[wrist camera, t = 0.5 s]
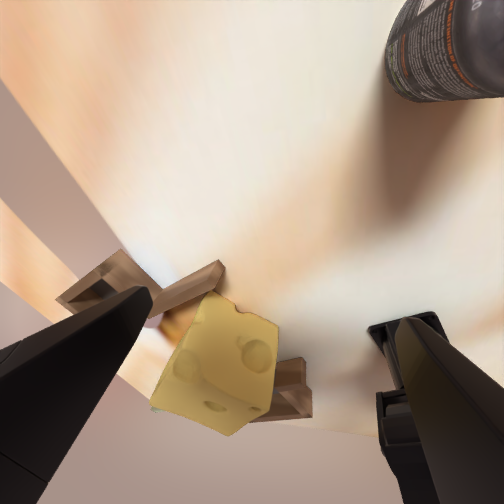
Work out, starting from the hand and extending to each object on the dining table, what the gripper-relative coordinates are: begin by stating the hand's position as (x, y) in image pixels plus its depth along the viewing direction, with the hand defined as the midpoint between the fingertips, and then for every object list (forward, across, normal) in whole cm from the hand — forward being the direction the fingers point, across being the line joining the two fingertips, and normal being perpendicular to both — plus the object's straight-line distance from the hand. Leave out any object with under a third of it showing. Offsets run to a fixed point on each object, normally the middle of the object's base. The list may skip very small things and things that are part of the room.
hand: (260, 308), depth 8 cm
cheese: (+14, +7, +19) cm, 24 cm away
